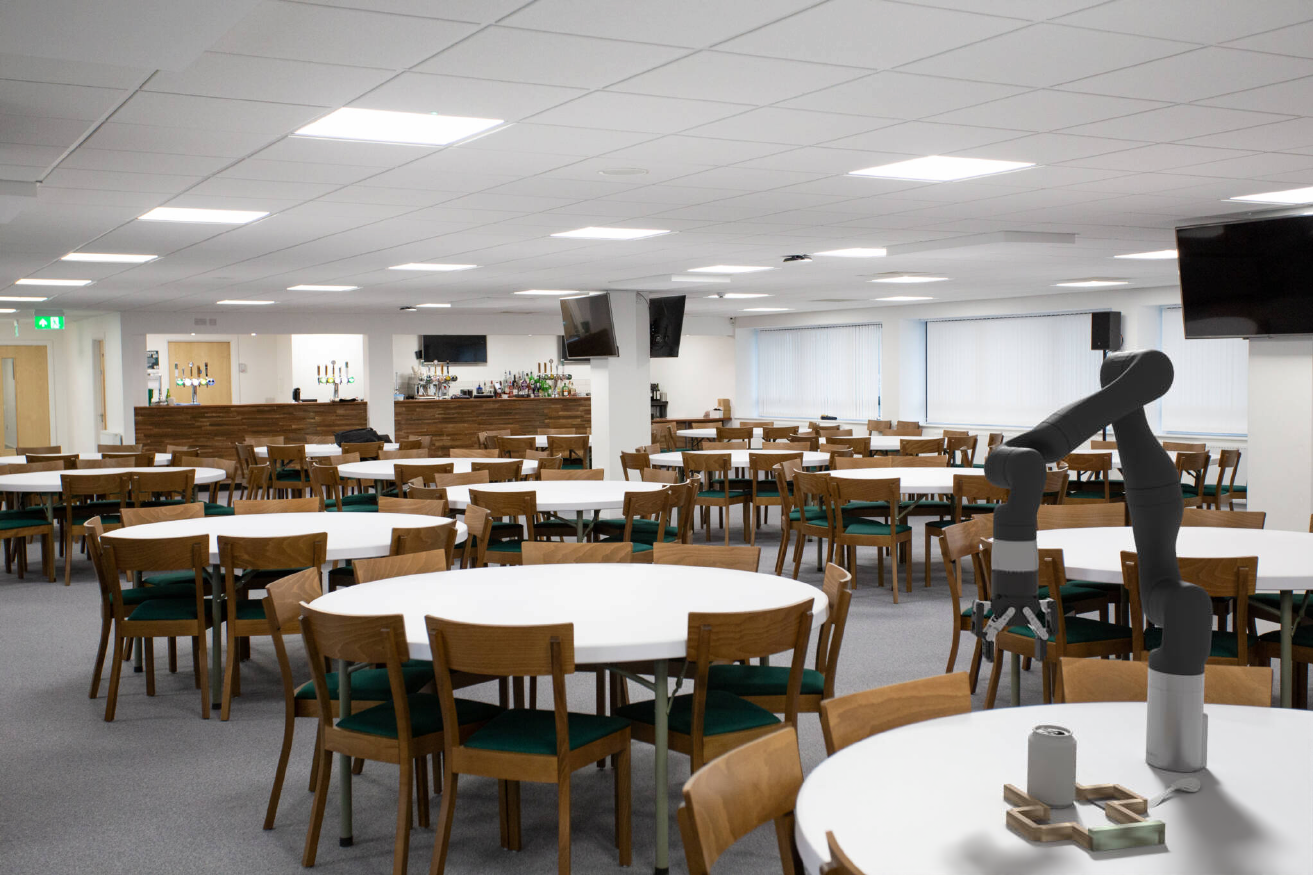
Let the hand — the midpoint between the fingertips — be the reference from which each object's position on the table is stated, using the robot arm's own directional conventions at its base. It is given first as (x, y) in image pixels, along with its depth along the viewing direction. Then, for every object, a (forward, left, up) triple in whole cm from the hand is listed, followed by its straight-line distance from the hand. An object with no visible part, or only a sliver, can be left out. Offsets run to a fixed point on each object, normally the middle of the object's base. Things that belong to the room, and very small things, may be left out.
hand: (1014, 661), depth 189 cm
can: (-2, +8, -22) cm, 23 cm away
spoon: (-22, +11, -22) cm, 33 cm away
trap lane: (-2, +16, -21) cm, 26 cm away
